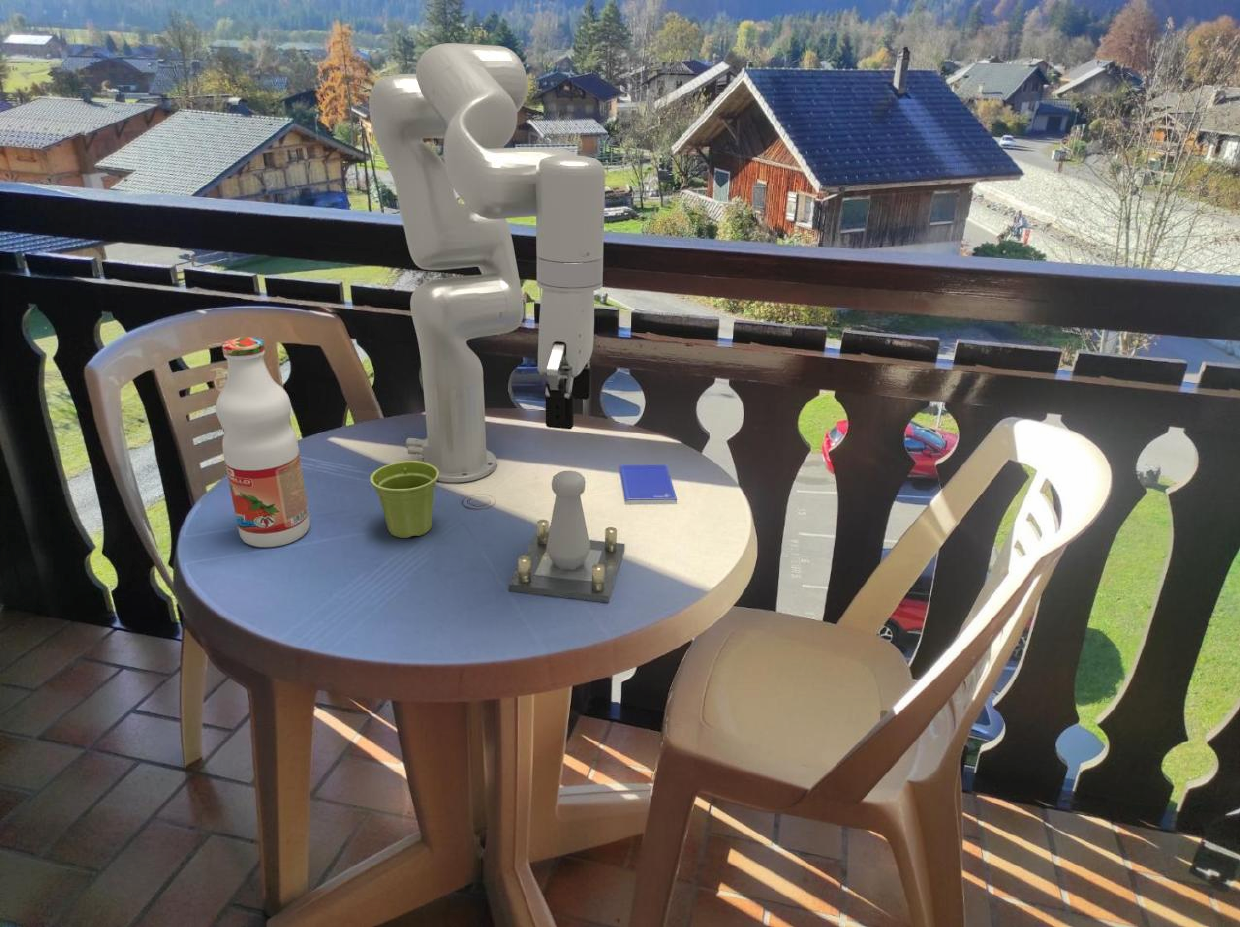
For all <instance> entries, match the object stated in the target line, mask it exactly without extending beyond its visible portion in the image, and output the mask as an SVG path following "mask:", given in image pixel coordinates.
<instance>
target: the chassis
mask: <svg viewBox="0 0 1240 927" xmlns="http://www.w3.org/2000/svg"><path fill="white" fill-rule="evenodd" d="M549 531H550V524H549V520H547V519H539V520H538V521H537V522H536V533H534V534H533V535H532V538H531V539H530V541H529V544H528V546H527V547H526V549H525V551H524V553H523V555H521V556H518V559H517V561H518V562H517V565H518V566H517V567H516V568H515V570H514V573H513V575H512V577H511V579H510V581H509V583H508V592H515V593H522V594H523V593H524V594H531V595H539V596H549V597H557V598H565V599H566V598H567V599H573V600H580V601H581V600H582V601H589V602H598V603H607V604H608V603H609V602H610V598H611V596H612V592H613V589H614V587H615V586H614V585H615V582H616V579H617V576H618V572H619V569H620V567H621V562H622V559H623V557H624V552H625V548H626V547H625V546H626V545H625V543H621V542H620V543H619V542H617V541H618V540H617V539H618V537H617V536H618V529H617V527H613V526H608V527H606V528H605V531H604V533H605V534H604V535H605V537H604V541H602V540H593V539H589V541H590V550H589V554H588V556H587V558H586V560H585V562H584V564H583V565H581V566H580V567H578V568H576V569H574V570H568V569H559V568H558V567H557V566H556V565H555V564H554V563H553V562H552V560H551V558H550V556H549V554H548V552H547V548H546V546H547V541H548V536H549Z"/></svg>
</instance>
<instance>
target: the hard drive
mask: <svg viewBox="0 0 1240 927" xmlns="http://www.w3.org/2000/svg"><path fill="white" fill-rule="evenodd" d="M618 471H619V476H620V483H621V484H620V485H621V489H622V493H623V494H622V495H623V499H624V504H625V506H627V505H628V506H629V505H634V506H635V505H677V504H678V497H677V495H676V492H675V488H674V484H673V480H672V478H671V475H670V472H669V468H668V465H666V464H621V465H619V467H618Z"/></svg>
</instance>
